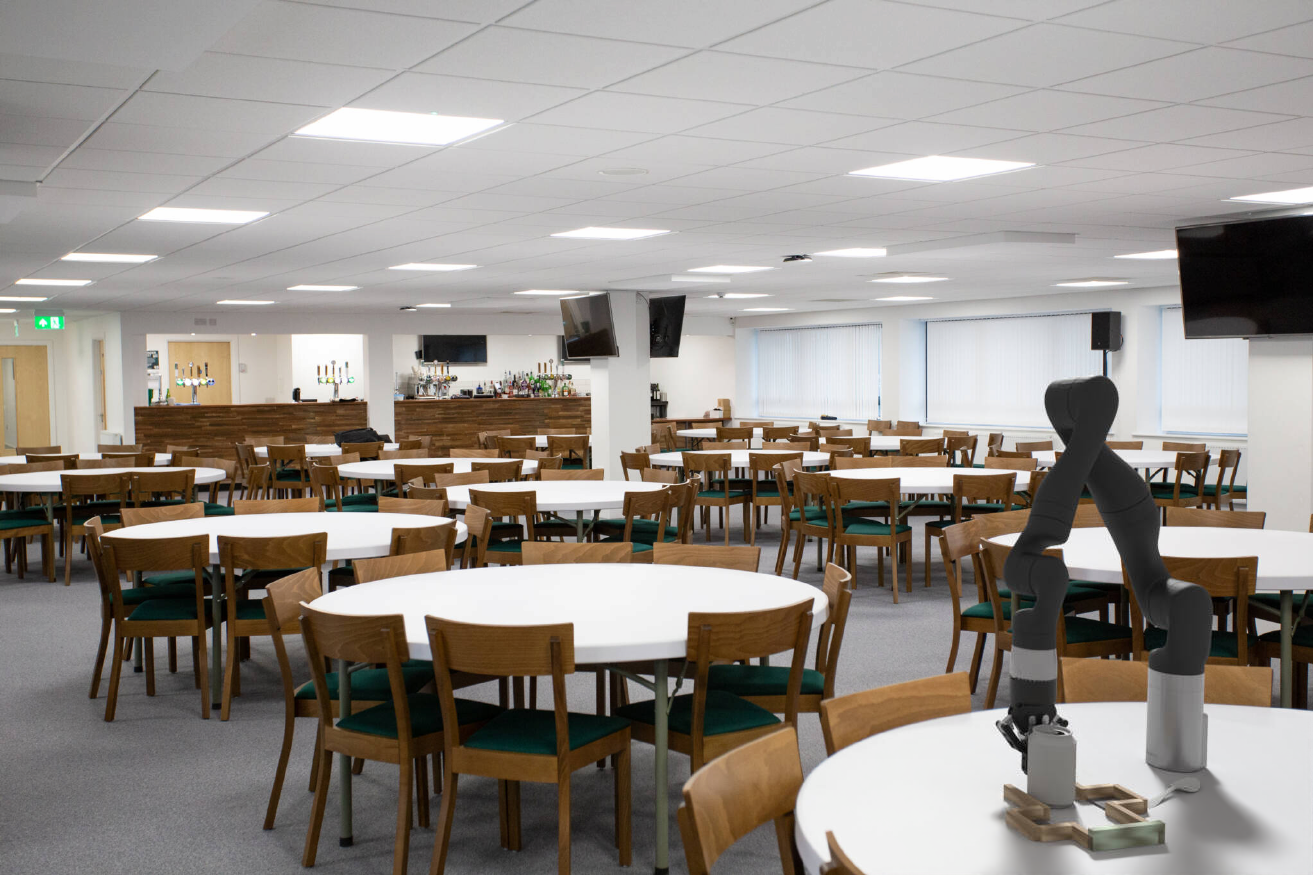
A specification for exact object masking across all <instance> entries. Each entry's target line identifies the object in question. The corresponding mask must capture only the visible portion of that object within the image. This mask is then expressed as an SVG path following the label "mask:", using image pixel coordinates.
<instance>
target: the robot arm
mask: <svg viewBox="0 0 1313 875" xmlns="http://www.w3.org/2000/svg"><path fill="white" fill-rule="evenodd" d="M1119 396H1120V394H1119V391H1118V388H1117V386H1116V383H1114V382H1113V380H1112V379H1111V378H1109V377H1107V376H1105V375H1103V374H1101V375H1100V374H1088V375H1087V374H1086V375H1080V376H1079V375H1078V376H1071V377H1065V378H1059V379H1056V380H1053V381H1052V382H1050V384H1049V385H1048V386H1047V388H1046V390H1045V392H1044V397H1043V398H1044V399H1043V401H1044V402H1043V403H1044V404H1043V405H1044V409H1045V413H1046V415H1047V418H1048V420H1049V423H1050V425H1051V426H1052V427H1053V429H1054V431H1055V433H1056V434H1057V435H1058V437H1059V439H1060V441H1061V442H1062V444H1063V445H1064V447H1065V449H1064V450H1063V452H1061V455H1060V456H1059V457H1058V459H1057V460H1056V462H1054V464H1053V465H1052V467H1051V468H1050V469H1049V471H1048V472H1047V473H1046V474H1045V476H1044V477H1043V479H1042V480H1041V482H1040V483H1039V485H1038V488H1037V490H1036V492H1035V494H1034V498H1033V501H1032V503H1031V509H1030V511H1029V515H1028V518H1027V523H1026V525H1024V526H1025V527H1024V528H1023V530H1022V532H1021V533H1020V534H1019V537H1018V538H1017V540H1016V541H1015V542H1014V544H1013V546H1012V548H1011V550H1010V551H1009V553H1008V554H1007V556H1006V557H1005V560H1004V563H1003V567H1002V579H1003V582H1004V584H1005V586H1006V589H1008V590H1009V591H1011V592H1012V593H1016V594H1018V595H1019V594H1020V595H1026V596H1032V597H1036V602H1035V603H1034V606H1033V607H1032V608H1022V609H1019V610H1016V611H1015V612H1014V614H1013V616H1012V623H1011V624H1012V625H1011V633H1012V634H1011V650H1010V656H1009V680H1008V681H1009V688H1008V689H1009V690H1008V697H1009V702H1010V704H1009V708H1008V710H1007V715H1006V716H1005V717H1004V718H1003V719H1002V720H1000V719H998V720H996V722H995V726H996V728H997V730H998V731H999V732H1000V734H1001V736H1003V737H1004V739H1005V741H1006V742H1007V743H1008V745H1009V746H1010V747H1011V748H1012V750H1013V749H1014V750H1016V751H1018V753H1020V754H1021V762H1020V763H1021V765H1020V766H1021V768H1020V769H1021V771H1022V772H1023V774H1024V775H1025V776H1027V769H1028V736H1029V735H1030V734H1031V733H1032V732H1033V730H1032V728H1033V727H1034V726H1037V725H1056V726H1062V727H1065V728H1068V726H1069V724H1070V723H1069V720H1068V719H1066V718H1063V717H1061V716H1060V715H1059V714H1058V710H1057V708H1056V705H1055V703H1056V702H1057V696H1058V694H1057V691H1058V687H1057V686H1058V657H1057V656H1058V655H1057V629H1058V628H1057V626H1058V621H1059V617H1060V613H1061V611H1062V610H1061V609H1062V607H1063V603H1064V600H1065V598H1066V594H1067V591H1068V587H1069V584H1070V574H1069V573H1070V572H1069V569H1068V567H1067V565H1066V563H1065V562H1064V561H1063V560H1062V559H1061V558H1059V557H1057V556H1054V555H1047V554H1043V552H1044V551H1046V549H1047V548H1050V547H1057V546H1060V545H1064V544H1065V543H1067V541H1068V540H1069V538H1070V535H1071V531H1072V527H1073V524H1074V521H1075V516H1076V514H1077V509H1078V506H1079V502H1080V499H1081V496H1082V492H1083V490H1084V487H1085V485H1086V487H1087V489H1088V491H1089V493H1090V495H1091V497H1092V499H1093V503H1094V504H1095V506H1096V510H1097V511H1098V513H1099V515H1100V517H1101V519H1102V521H1103V524H1104V525H1105V528H1106V529H1107V531H1108V533H1109V535H1110V536H1111V540H1112V541H1113V544H1114V545H1115V548H1116V550H1117V552H1118V554H1119V557H1120V558H1121V560H1122V564H1123V565H1124V568H1125V570H1126V572H1127V575H1128V578H1129V581H1130V585H1131V587H1132V590H1133V592H1134V596H1135V599H1136V603H1137V605H1138V607H1139V610H1140V612H1141V614H1142V616H1143V617H1144V619H1145V620H1146V621H1148V623H1149V624H1151V625H1153V626H1154V627H1156V628H1159V629H1162V630H1166V631H1167V635H1166V643H1165V645H1164V646H1163V647H1160V648H1159V647H1158V648H1155V649H1152V650H1150V651H1149V653H1148V658H1147V659H1148V660H1147V664H1148V665H1147V666H1148V667H1147V699H1146V733H1145V734H1146V735H1145V736H1146V738H1145V739H1146V740H1145V761H1146V762H1147V763H1148V764H1149V765H1151V766H1153V767H1156V768H1158V769H1162V770H1166V771H1172V772H1183V773H1187V772H1188V773H1189V772H1196V771H1199V770H1202V768H1206V767H1208V765H1207V764H1208V740H1209V739H1208V736H1209V735H1208V732H1209V731H1208V730H1209V715H1208V714H1207V713H1206V712H1205V711H1204V710H1205V707H1204V704H1205V701H1204V700H1205V675H1206V674H1205V671H1206V670H1205V669H1206V663H1207V661H1208V658H1209V656H1210V653H1211V646H1212V643H1211V642H1212V634H1213V633H1212V632H1213V623H1214V622H1213V621H1214V605H1213V601H1212V597H1211V594H1210V593H1209V591H1208V590H1207V589H1206V588H1205V587H1203V585H1200V584H1196V583H1194V582H1188V581H1185V580H1184V581H1183V580H1179V579H1175V578H1174V577H1172V575H1171V573H1170V571H1169V570H1168V568H1167V567H1166V565H1165V563H1164V561H1163V557H1162V556H1161V554H1160V550H1159V538H1160V533H1161V532H1160V531H1161V514H1160V510H1159V508H1158V506H1157V503H1156V501H1155V499H1154V497H1153V495H1152V492H1151V490H1150V487H1149V486H1148V484H1147V483H1146V481H1145V480H1144V478H1143V477H1142V476H1141V474H1139V472H1138V471H1137V470H1135V468H1134V467H1132V466H1131V465H1130V464H1129V463H1128V462H1127V461H1125V460H1124V459H1123V458H1122V457H1121V456H1120V455H1119V454H1117V453H1116V452H1115V451H1114V450H1113V449H1112V448H1111V447H1110V446H1109V445H1108V444H1107V443H1106V438H1107V436H1108V435H1109V433H1110V431H1111V428H1112V426H1113V424H1114V421H1115V419H1116V416H1117V413H1118V411H1119V410H1118V409H1119V405H1120V397H1119ZM1015 728H1016V730H1017V732H1016V733H1017V734H1016V733H1015V731H1014V730H1015Z"/></svg>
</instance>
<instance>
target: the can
mask: <svg viewBox="0 0 1313 875" xmlns="http://www.w3.org/2000/svg"><path fill="white" fill-rule="evenodd" d="M1032 730H1033V732H1032V733H1031V734H1030V735H1029V736H1028V769H1027V775H1026V783H1027V784H1026V793H1027V794H1028V795H1030V796H1032V797H1033V798H1035V799H1037V800H1039V801H1040V802H1042V803H1044V804H1045V805H1047V806H1049V807H1050V809H1051V808H1052V809H1064V808H1065V809H1066V808H1068V807H1070V806H1071V805H1072V804H1073V803H1074V802H1075V801H1076V798H1075V790H1076V782H1077V779H1076V778H1077V740H1076V739H1075V737H1074V735H1073V731H1072V730H1071V729H1070V728H1068V727H1066V728H1065V727H1062V726H1056V725H1037V726H1034V727H1033V728H1032Z"/></svg>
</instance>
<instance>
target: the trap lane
mask: <svg viewBox="0 0 1313 875" xmlns="http://www.w3.org/2000/svg"><path fill="white" fill-rule="evenodd" d="M1003 797H1004V798H1006V799H1007V800H1009V801H1011V802H1012V803H1014V805H1015V804H1016V805H1017V806H1018V807H1011V808H1010V809H1007V810H1006V814H1005V815H1006V816H1005V820H1006V821H1005V824H1006V825H1008V826H1010V827H1011V828H1013V829H1014V830H1016V831H1018V832H1019V833H1021V835H1024V836H1025V837H1026V838H1028V839H1029V840H1031V841H1033V842H1036V841H1041V842H1042V843H1046V842H1055V841H1063V840H1064V841H1066V840H1073V841H1075V842H1077V843H1078V844H1080V845H1082V846H1083V847H1085V848H1087V849H1089V850H1090V851H1091V852H1100V851H1108V850H1117V849H1118V850H1119V849H1127V848H1134V847H1135V848H1136V847H1144V846H1152V845H1161V844H1165V843H1166V822H1164V821H1162V820H1159V819H1158V820H1151V821H1150V820H1148V819H1146V818H1144V817H1142V816H1140V815H1144V814H1145V813H1147V812H1148V810H1149V808H1148V801H1149V799H1148V798H1146V797H1144V796H1142V795H1140V794H1139V793H1136V792H1134V791H1132V790H1130V789H1129V788H1126V787H1124V786H1122V785H1121V784H1118V783H1117V784H1114V783H1113V784H1111V783H1102V784H1099V783H1098V784H1090V785H1082V784H1080V783H1079V782H1077V781H1076V790H1075V799H1077V800H1079V802H1087V801H1088V802H1090V803H1091V804H1092V805H1093V804H1094V806H1096V807H1098V808H1101V809H1102V810H1104V815H1105V816H1107V817H1109V818H1111V819H1112V820H1114V821H1116V822H1118V823H1120V824H1113V825H1104V826H1103V825H1102V826H1095V827H1088V828H1086V827H1084V826H1083V825H1080V824H1079V823H1077V822H1076V821H1070V822H1060V823H1050V821H1051V808H1050V807H1049V806H1047V805H1045V804H1044V803H1042V802H1040V801H1039V800H1037V799H1035V798H1033V797H1032V796H1030V795H1028V794H1027V792H1025V791H1023V790H1022V789H1020V788H1018V787H1017V786H1015V785H1013V784H1012V783H1003Z"/></svg>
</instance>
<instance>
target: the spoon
mask: <svg viewBox="0 0 1313 875" xmlns="http://www.w3.org/2000/svg"><path fill="white" fill-rule="evenodd" d="M1200 787H1201V782H1200V781H1199V779H1198V778H1196V777H1186V778H1182V779H1180V780H1177V781H1175V782H1172V783H1171V784H1170V787H1169V788H1168V789H1166V790H1165V791H1163V792H1162V793H1160V794H1157V796H1154V797H1152V798H1151V799H1148V809H1153V808H1154V809H1155V807H1157V806H1158V805H1159V804H1160V803H1161V802H1162V801H1163V800H1164V799H1165V798H1166V797H1167V796H1168V795H1169V794H1171V793H1172V792H1173V791H1175V790H1178V791H1180V792H1186V793H1189V792H1190V793H1195V792H1197V791H1199V789H1200Z"/></svg>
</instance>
